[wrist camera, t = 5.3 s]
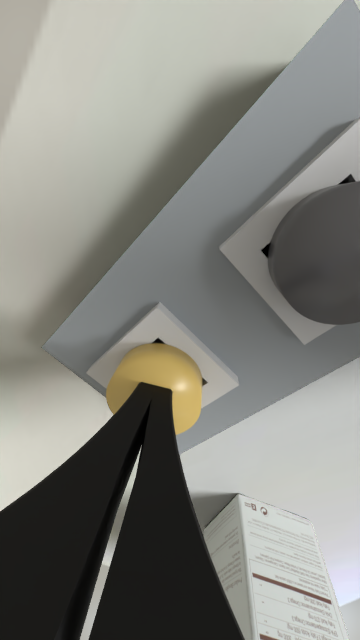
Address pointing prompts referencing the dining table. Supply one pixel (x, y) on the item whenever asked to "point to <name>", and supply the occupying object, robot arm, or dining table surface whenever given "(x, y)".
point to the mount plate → (235, 249)
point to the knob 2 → (320, 255)
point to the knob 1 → (160, 380)
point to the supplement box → (273, 573)
